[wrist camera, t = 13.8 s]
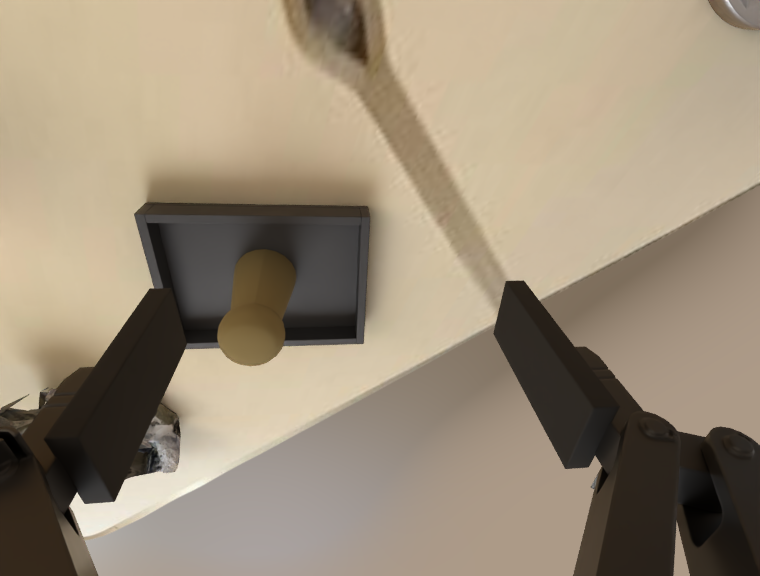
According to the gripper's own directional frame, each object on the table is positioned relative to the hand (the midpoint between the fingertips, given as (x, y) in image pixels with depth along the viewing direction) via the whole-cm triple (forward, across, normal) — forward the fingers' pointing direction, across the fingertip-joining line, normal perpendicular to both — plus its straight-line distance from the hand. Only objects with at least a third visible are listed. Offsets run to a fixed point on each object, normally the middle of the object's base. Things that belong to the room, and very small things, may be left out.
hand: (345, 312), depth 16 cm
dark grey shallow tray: (+23, -7, -11) cm, 26 cm away
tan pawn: (+22, -8, -11) cm, 26 cm away
